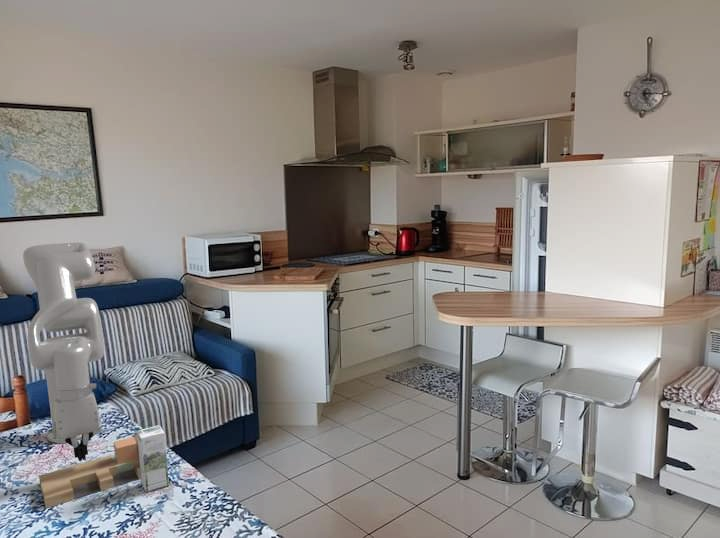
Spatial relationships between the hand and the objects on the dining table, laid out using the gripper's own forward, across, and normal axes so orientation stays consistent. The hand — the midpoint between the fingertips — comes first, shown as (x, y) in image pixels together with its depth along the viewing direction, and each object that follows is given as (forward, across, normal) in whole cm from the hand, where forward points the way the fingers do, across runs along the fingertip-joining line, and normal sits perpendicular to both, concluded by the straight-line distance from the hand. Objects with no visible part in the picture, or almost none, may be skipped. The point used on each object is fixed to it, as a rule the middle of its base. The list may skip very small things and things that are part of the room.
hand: (81, 458), depth 142 cm
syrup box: (+5, -14, +18) cm, 23 cm away
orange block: (+2, -10, +2) cm, 11 cm away
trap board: (+5, -2, +6) cm, 8 cm away
